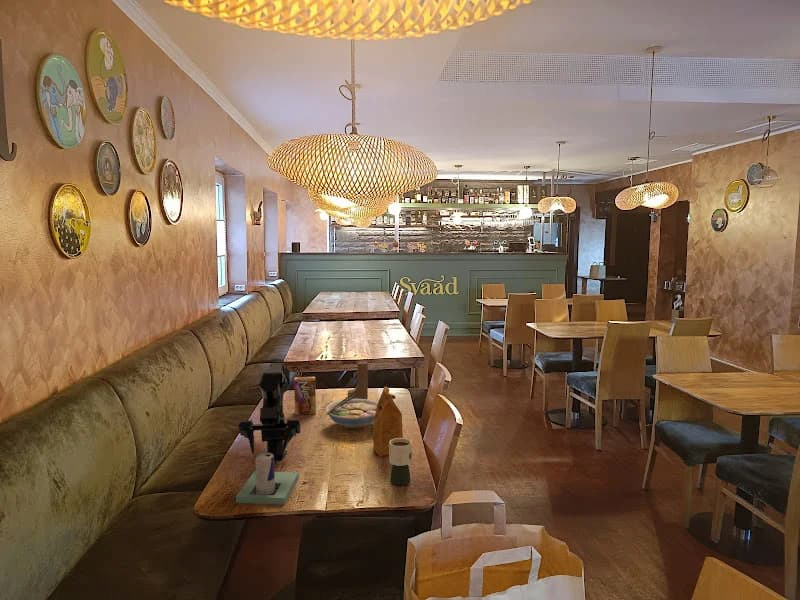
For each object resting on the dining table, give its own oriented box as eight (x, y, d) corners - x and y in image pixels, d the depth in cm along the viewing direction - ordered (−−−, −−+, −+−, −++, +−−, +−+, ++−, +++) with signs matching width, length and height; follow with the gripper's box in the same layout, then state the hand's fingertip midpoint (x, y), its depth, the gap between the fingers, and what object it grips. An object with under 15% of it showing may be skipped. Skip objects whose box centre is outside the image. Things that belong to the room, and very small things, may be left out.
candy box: (316, 410, 232) (315, 376, 230) (316, 414, 227) (315, 378, 225) (294, 411, 230) (294, 376, 228) (294, 415, 226) (293, 379, 224)
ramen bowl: (368, 440, 199) (368, 419, 198) (313, 432, 207) (313, 412, 206) (392, 418, 222) (392, 399, 221) (342, 412, 230) (342, 393, 229)
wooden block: (347, 403, 242) (347, 364, 239) (347, 399, 246) (347, 361, 244) (367, 402, 243) (367, 363, 240) (367, 399, 247) (367, 361, 245)
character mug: (415, 489, 162) (415, 448, 160) (391, 491, 161) (391, 450, 159) (408, 473, 173) (408, 434, 171) (386, 475, 172) (386, 436, 170)
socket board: (254, 477, 169) (254, 471, 169) (298, 478, 169) (298, 472, 168) (236, 502, 154) (236, 496, 153) (284, 504, 153) (284, 498, 153)
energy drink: (278, 493, 159) (278, 454, 158) (266, 501, 155) (265, 461, 153) (265, 488, 162) (264, 450, 160) (252, 496, 157) (251, 457, 156)
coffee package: (398, 442, 198) (398, 384, 195) (404, 456, 186) (405, 394, 183) (371, 444, 196) (371, 385, 193) (376, 458, 184) (376, 396, 181)
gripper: (238, 396, 167) (232, 444, 157) (299, 394, 169) (297, 442, 159) (243, 411, 175) (238, 458, 166) (301, 409, 178) (299, 455, 168)
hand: (268, 453), depth 165 cm, fingers open, 9 cm apart
